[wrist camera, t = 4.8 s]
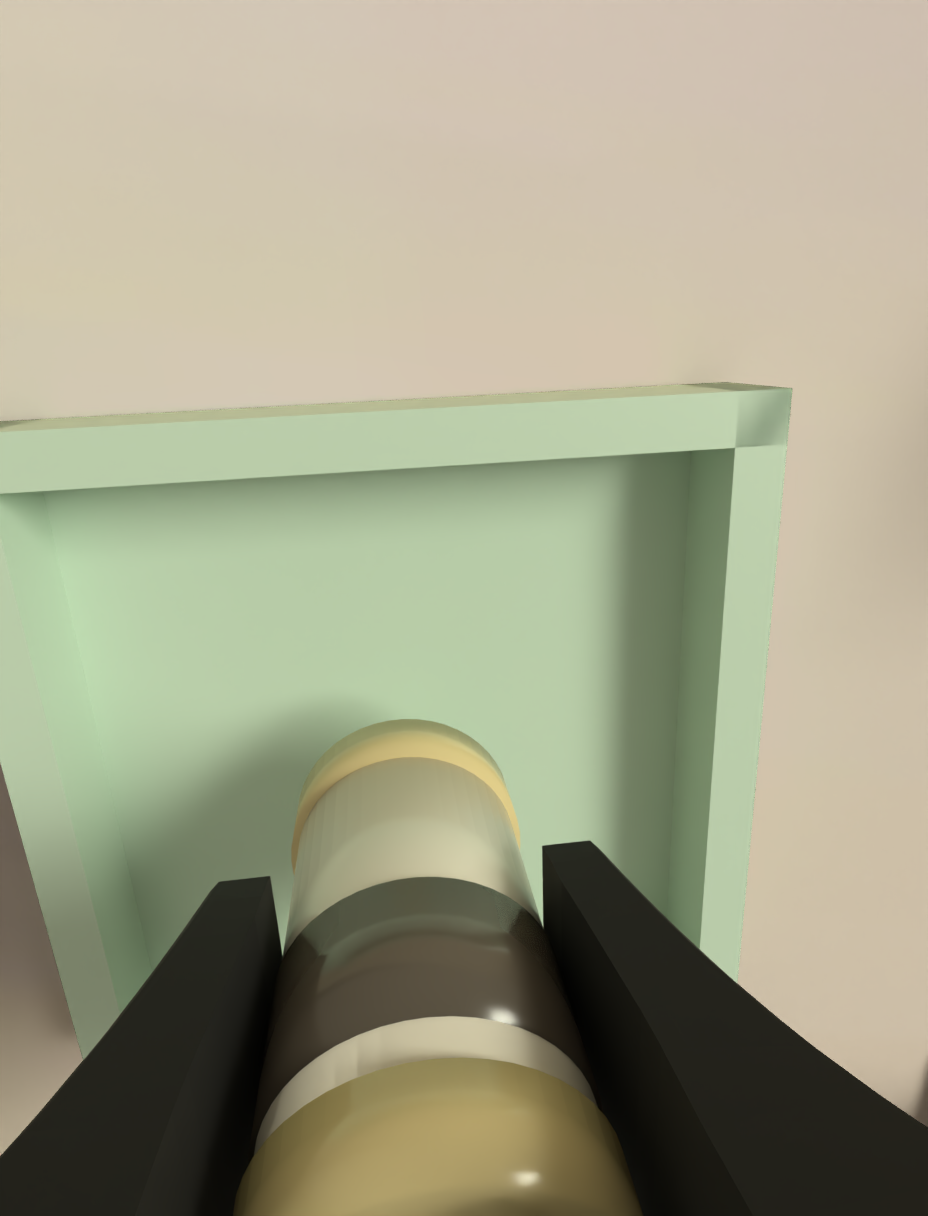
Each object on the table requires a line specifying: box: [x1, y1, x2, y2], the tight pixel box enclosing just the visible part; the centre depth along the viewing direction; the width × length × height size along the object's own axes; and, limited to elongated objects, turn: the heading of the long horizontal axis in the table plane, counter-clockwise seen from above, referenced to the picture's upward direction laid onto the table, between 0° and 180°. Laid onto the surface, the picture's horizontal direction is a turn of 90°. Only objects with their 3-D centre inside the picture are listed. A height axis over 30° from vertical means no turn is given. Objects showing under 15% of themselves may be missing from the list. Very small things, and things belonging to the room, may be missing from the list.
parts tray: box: [0, 382, 792, 1060], centre depth 13 cm, size 12×12×2 cm
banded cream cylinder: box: [233, 719, 643, 1216], centre depth 9 cm, size 3×3×7 cm
